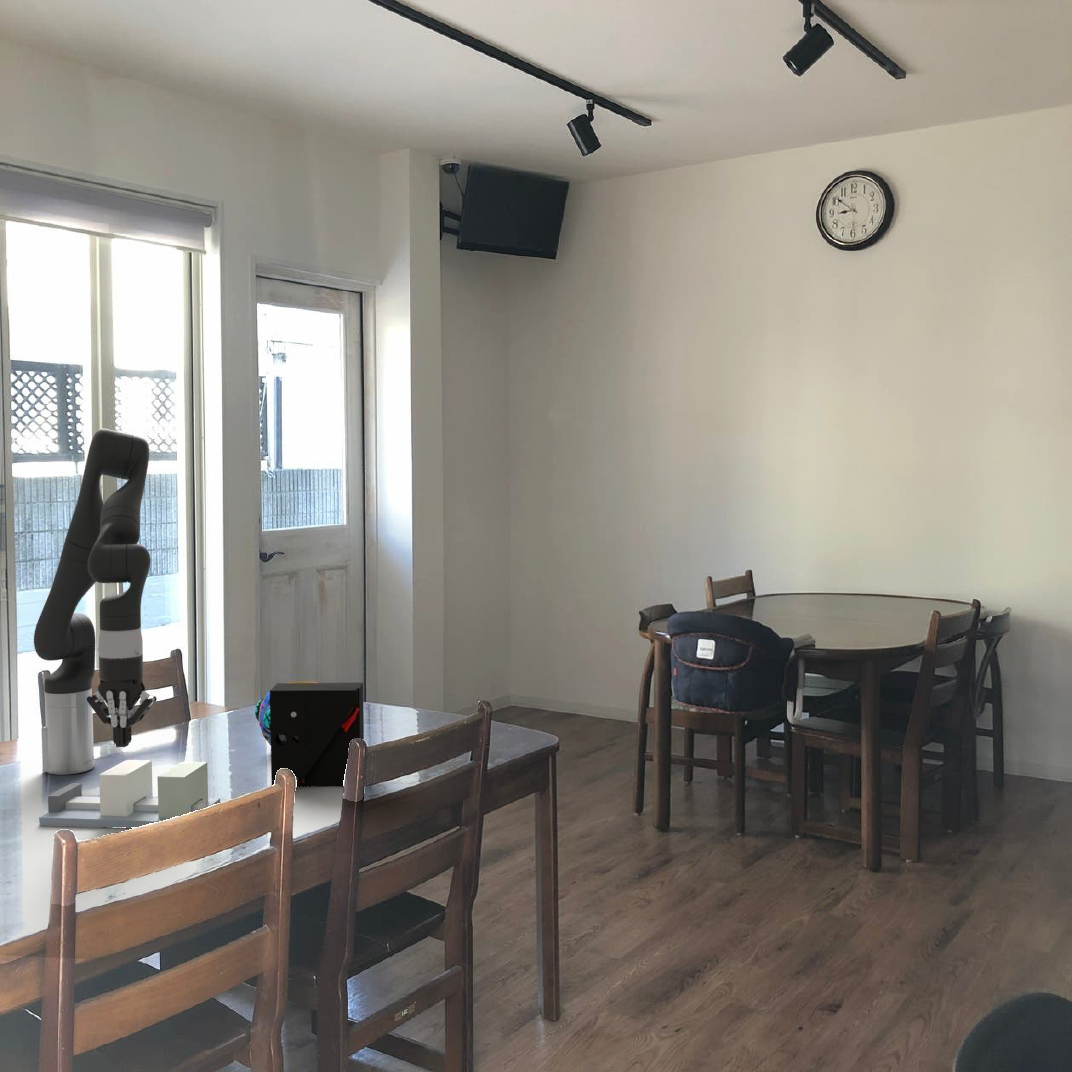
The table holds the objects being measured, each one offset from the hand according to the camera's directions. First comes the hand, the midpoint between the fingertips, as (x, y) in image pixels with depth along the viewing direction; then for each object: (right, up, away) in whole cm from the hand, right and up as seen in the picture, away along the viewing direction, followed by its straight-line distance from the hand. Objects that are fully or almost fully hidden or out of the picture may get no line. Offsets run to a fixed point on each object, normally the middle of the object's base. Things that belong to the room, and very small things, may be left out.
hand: (122, 746), depth 197 cm
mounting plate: (+2, -13, +1) cm, 13 cm away
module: (+1, -12, +1) cm, 12 cm away
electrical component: (+32, -12, +22) cm, 40 cm away
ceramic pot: (+22, -10, +46) cm, 52 cm away
